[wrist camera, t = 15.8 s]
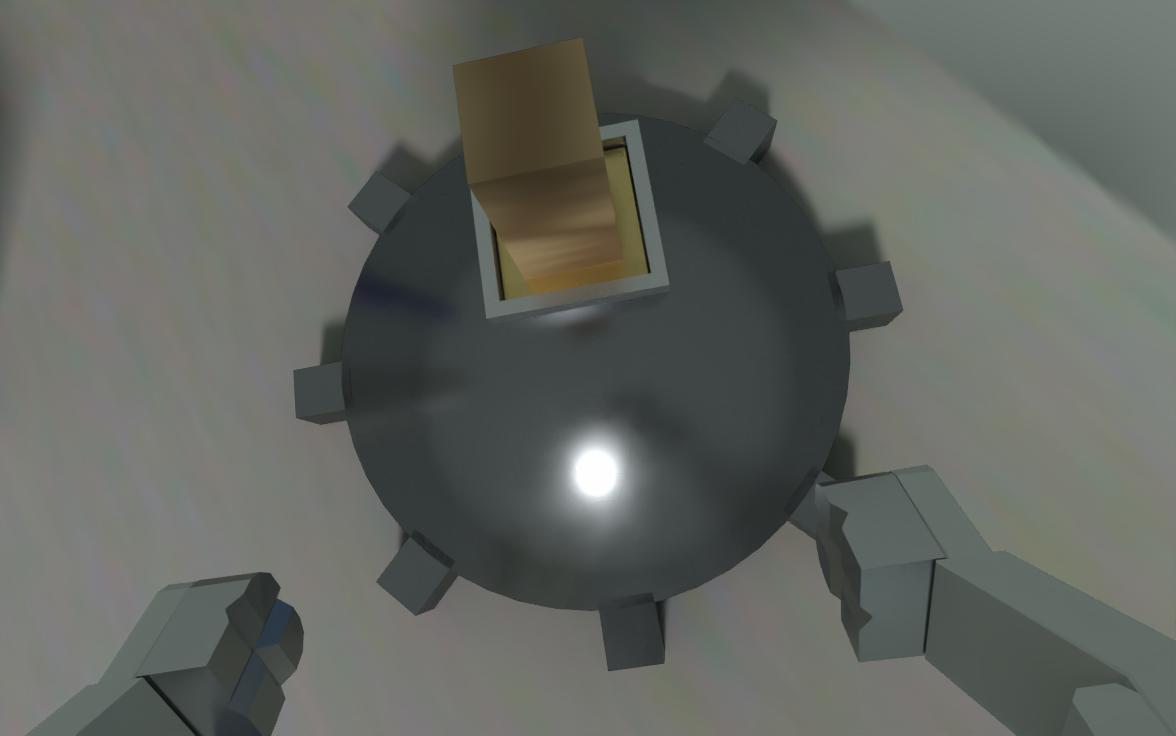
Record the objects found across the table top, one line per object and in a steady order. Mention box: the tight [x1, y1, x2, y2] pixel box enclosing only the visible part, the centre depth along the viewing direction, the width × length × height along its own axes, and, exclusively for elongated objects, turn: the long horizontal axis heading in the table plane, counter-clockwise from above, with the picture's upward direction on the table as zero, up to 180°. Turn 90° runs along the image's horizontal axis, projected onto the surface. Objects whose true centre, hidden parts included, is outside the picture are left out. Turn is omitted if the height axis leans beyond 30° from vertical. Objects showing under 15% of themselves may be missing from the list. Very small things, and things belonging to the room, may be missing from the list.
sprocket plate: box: [293, 98, 903, 671], centre depth 27 cm, size 24×24×3 cm
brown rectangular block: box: [453, 37, 623, 279], centre depth 24 cm, size 4×4×8 cm
